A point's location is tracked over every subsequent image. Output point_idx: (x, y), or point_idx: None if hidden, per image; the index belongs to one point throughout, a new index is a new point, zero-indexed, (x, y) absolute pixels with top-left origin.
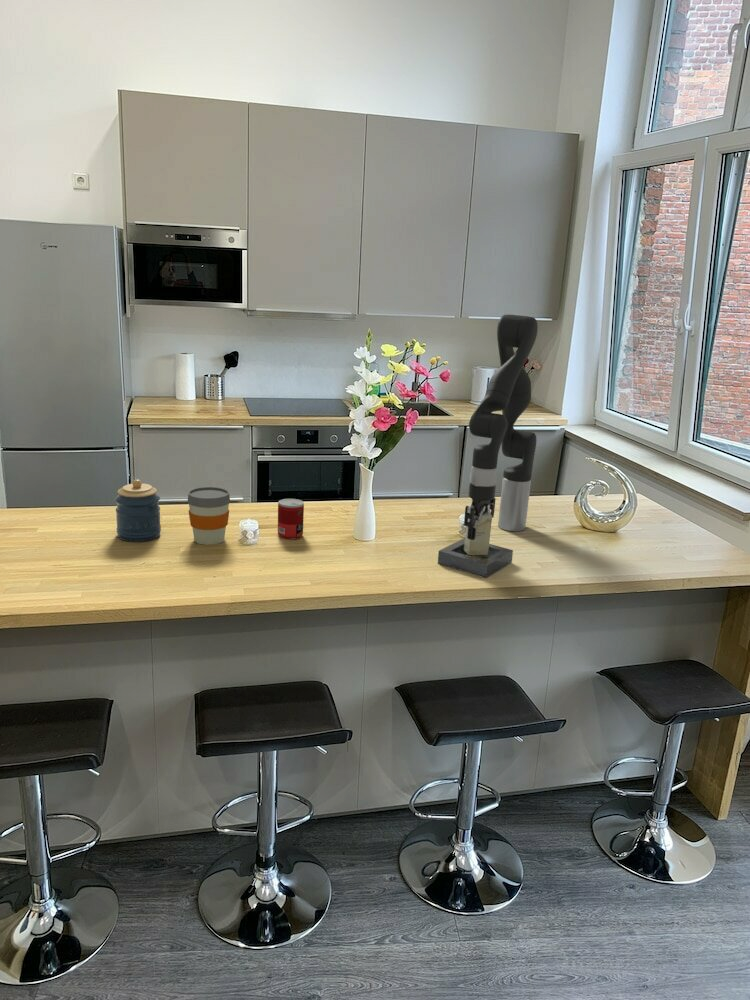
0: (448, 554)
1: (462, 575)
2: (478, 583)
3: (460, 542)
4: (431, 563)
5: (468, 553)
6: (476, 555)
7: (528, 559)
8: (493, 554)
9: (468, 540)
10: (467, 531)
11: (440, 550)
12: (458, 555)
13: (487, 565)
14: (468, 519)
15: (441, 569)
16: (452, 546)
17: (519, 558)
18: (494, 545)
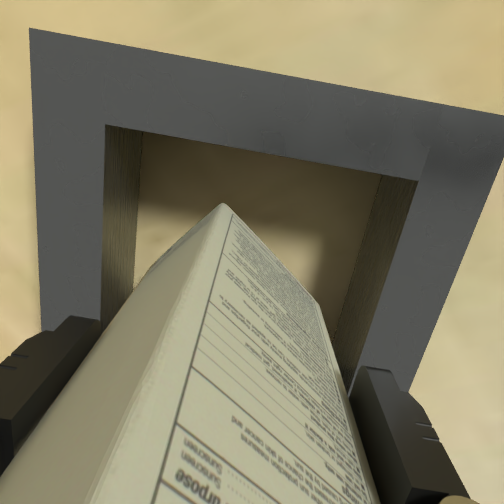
0: (36, 136)
1: (32, 255)
2: (3, 348)
3: (351, 124)
4: (61, 4)
5: (156, 262)
6: (368, 228)
7: (447, 454)
8: (345, 349)
9: (139, 292)
10: (151, 301)
11: (46, 40)
12: (57, 218)
13: None
14: (79, 428)
15: (19, 115)
16: (211, 99)
17: (442, 421)
18: (412, 366)
